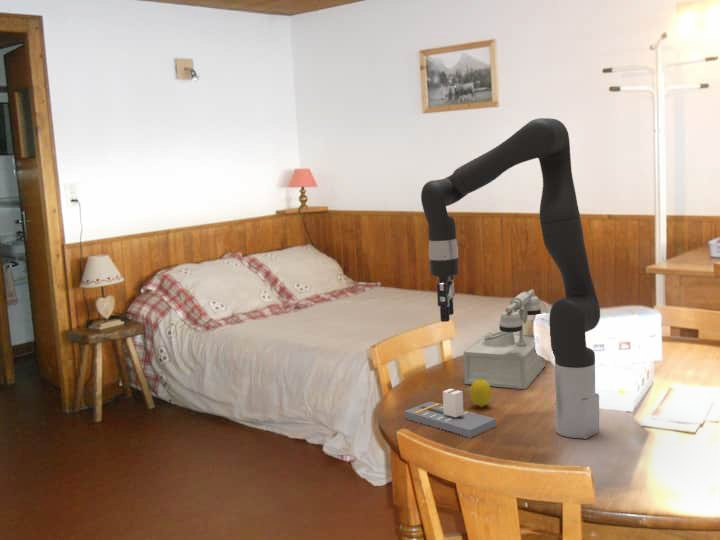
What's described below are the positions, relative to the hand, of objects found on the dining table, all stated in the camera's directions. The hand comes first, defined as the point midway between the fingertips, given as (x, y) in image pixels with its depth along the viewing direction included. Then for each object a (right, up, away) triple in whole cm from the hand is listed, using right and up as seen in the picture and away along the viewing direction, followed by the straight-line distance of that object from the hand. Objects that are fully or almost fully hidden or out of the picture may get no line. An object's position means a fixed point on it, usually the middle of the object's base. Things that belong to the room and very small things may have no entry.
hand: (447, 317), depth 215 cm
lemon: (+9, -24, +4) cm, 26 cm away
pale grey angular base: (+23, -19, +31) cm, 43 cm away
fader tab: (+1, -24, -8) cm, 25 cm away
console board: (0, -26, -6) cm, 27 cm away
